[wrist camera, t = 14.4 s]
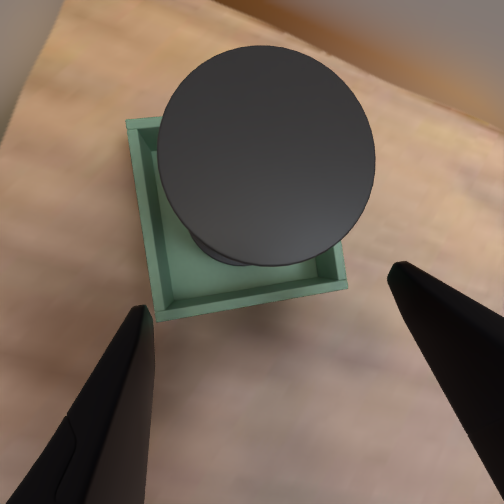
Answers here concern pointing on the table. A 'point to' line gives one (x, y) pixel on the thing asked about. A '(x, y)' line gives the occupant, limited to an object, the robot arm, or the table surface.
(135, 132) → the tote
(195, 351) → the table surface
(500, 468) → the robot arm
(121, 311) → the table surface
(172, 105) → the blender
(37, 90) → the table surface
